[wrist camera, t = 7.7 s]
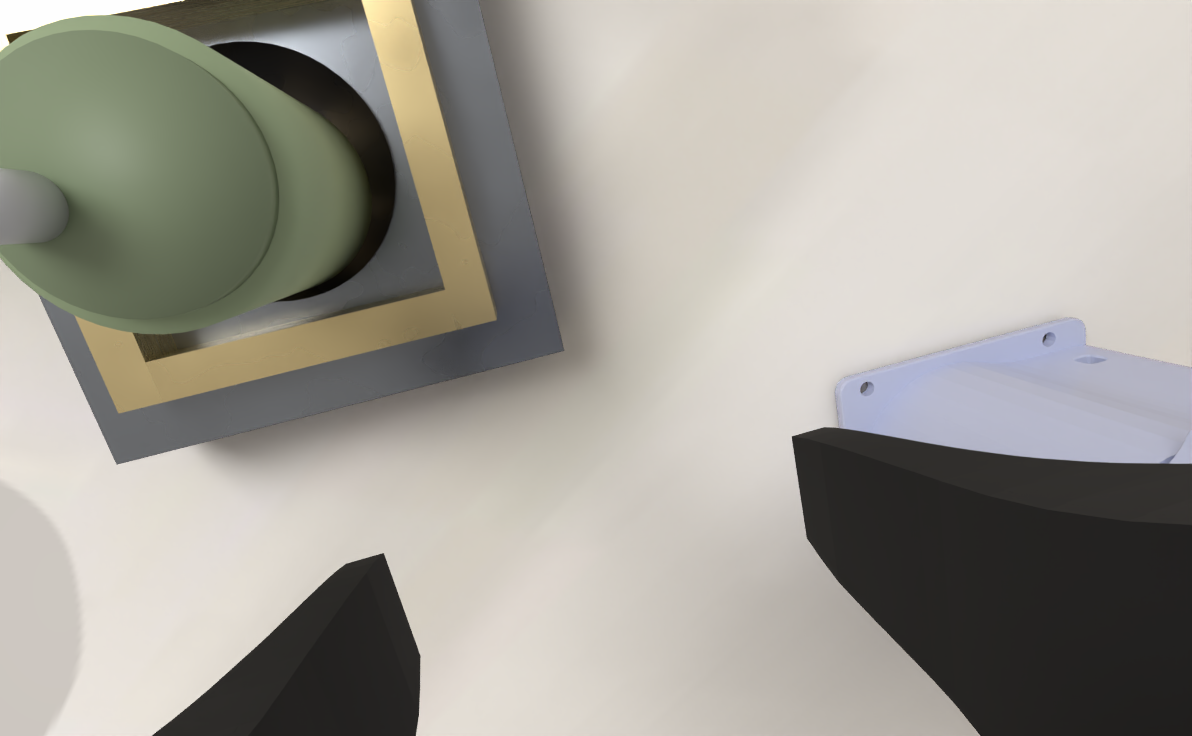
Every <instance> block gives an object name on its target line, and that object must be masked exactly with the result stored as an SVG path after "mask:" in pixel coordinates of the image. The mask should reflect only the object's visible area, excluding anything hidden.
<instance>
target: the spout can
mask: <svg viewBox="0 0 1192 736" xmlns="http://www.w3.org/2000/svg"><path fill="white" fill-rule="evenodd" d="M371 213H372V195H371V189H370V183H369V180H368V176H367V173H366V170H365V168H364V165H363V163H362V161H361V159H360V157H359V155H358V153H357V152H356V150H355V148H354V147H353V145H352V144H351V143H350V141H349V140H348V139H347V137H346V136H345V135H344V134H343V133H342V132H341V131H340V130H339V129H338V128H337V127H336V126H335V125H334V124H333V123H331V122H330V121H329V120H328V119H327V118H325V117H324V116H322V115H321V114H319V113H318V112H316V111H314V110H313V109H311V108H310V107H308V106H306V105H305V104H303V103H301V102H300V101H298V100H296V99H295V98H293V97H291V96H290V95H288V94H286V93H285V92H283V91H281V90H280V89H278V88H276V87H275V86H273V85H271V84H270V83H268V82H266V81H265V80H263V79H261V78H260V77H258V76H256V75H255V74H253V73H251V72H250V71H248V70H246V69H244V68H243V67H241V66H239V65H238V64H236V63H234V62H233V61H231V60H229V59H228V58H226V57H224V56H223V55H221V54H219V53H218V52H216V51H214V50H213V49H211V48H209V47H208V46H206V45H204V44H203V43H201V42H199V41H198V40H196V39H194V38H192V37H189V36H187V35H185V34H183V33H181V32H179V31H177V30H175V29H172V28H169V27H166V26H163V25H160V24H158V23H155V22H151V21H146V20H142V19H138V18H133V17H126V16H116V15H84V16H78V17H72V18H66V19H61V20H58V21H55V22H52V23H49V24H45V25H42V26H40V27H38V28H36V29H34V30H32V31H30V32H28V33H26V34H24V35H22V36H20V37H19V38H17V39H16V40H15V41H13V42H12V43H10V44H9V45H8V46H6V47H5V48H3V49H2V50H1V51H0V258H1V259H2V261H3V262H4V263H5V264H6V265H7V266H8V267H9V268H10V269H11V270H12V271H13V272H14V273H15V274H16V275H17V276H18V277H19V278H20V279H21V280H22V281H23V282H24V283H25V284H26V285H28V286H29V287H30V288H31V289H33V290H34V291H35V292H36V293H38V294H39V295H40V296H42V297H43V298H45V299H46V300H48V301H50V302H51V303H53V304H54V305H56V306H57V307H59V308H61V309H63V310H65V311H67V312H69V313H71V314H73V315H75V316H77V317H79V318H81V319H84V320H87V321H89V322H92V323H95V324H97V325H100V326H104V327H108V328H112V329H116V330H120V331H125V332H133V333H140V334H173V333H183V332H188V331H192V330H197V329H201V328H205V327H208V326H210V325H213V324H216V323H219V322H221V321H224V320H227V319H229V318H232V317H235V316H237V315H240V314H243V313H245V312H248V311H250V310H253V309H256V308H258V307H261V306H264V305H266V304H269V303H272V302H274V301H277V300H280V299H282V298H285V297H288V296H290V295H293V294H296V293H298V292H301V291H303V290H306V289H309V288H311V287H314V286H317V285H319V284H322V283H324V282H326V281H328V280H329V279H331V278H333V277H334V276H336V275H337V274H338V273H340V272H341V271H342V270H343V269H344V268H345V267H347V266H348V265H349V264H350V263H351V261H352V260H353V259H354V258H355V256H356V255H357V254H358V252H359V250H360V248H361V247H362V245H363V243H364V241H365V238H366V236H367V233H368V230H369V226H370V222H371Z"/></svg>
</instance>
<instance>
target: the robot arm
mask: <svg viewBox="0 0 1192 736" xmlns="http://www.w3.org/2000/svg"><path fill="white" fill-rule="evenodd" d="M1045 334H1046V340H1045V341H1044V342H1042V340H1043V337H1044V335H1045ZM865 382H867V383H868V387H867V389H866V391H865V392H863V393H861V392H860V388H861V386H862V384H863V383H865ZM835 396H836V403H837V411H838V419H839V426H840V428H827V427H824V428H820V429H817V430H813V431H810V432H806V433H803V434H799V435H796V436H792V441H793V448H794V455H795V462H796V468H797V475H798V482H799V488H800V495H801V502H802V509H803V515H804V522H805V529H806V535H807V539H808V540H809V542H810V543H811V545H812V546H813V548H814V549H815V550H816V552H817V553H818V555H819V556H820V557H821V559H822V560H823V562H824V563H825V564H826V566H827V567H828V568H829V570H830V571H831V572H832V574H833V575H834V576H835V578H836V579H837V580H838V582H839V583H840V584H841V585H842V586H843V587H844V588H845V589H846V590H847V591H848V593H849V594H850V595H851V596H852V597H853V598H854V599H855V600H856V601H857V602H858V603H859V604H860V605H861V606H862V607H863V608H864V609H865V610H866V611H867V612H868V613H869V615H870V616H871V617H872V618H873V619H874V620H875V621H876V622H877V623H878V624H879V625H880V626H881V627H882V628H883V629H884V630H885V631H886V632H887V633H888V634H889V635H890V636H891V637H892V638H893V639H894V640H895V641H896V642H897V643H898V644H899V645H900V646H901V647H902V648H903V649H904V650H905V652H906V653H907V654H908V655H909V656H910V657H911V658H912V659H913V660H914V661H915V662H916V663H917V664H918V665H919V666H920V667H921V668H922V669H923V670H924V671H925V672H926V673H927V674H928V675H929V676H930V677H931V678H932V679H933V680H934V681H935V682H936V684H937V685H938V686H939V687H940V688H941V689H942V690H943V691H944V692H945V694H946V695H947V696H948V697H949V698H950V699H951V700H952V701H953V702H954V704H955V705H956V706H957V707H958V708H959V709H960V711H961V712H962V713H963V714H964V716H965V717H966V718H967V719H968V721H969V722H970V723H971V724H972V726H973V727H974V728H975V729H976V731H977V732H978V733H979V734H980V736H1192V367H1187V366H1182V365H1178V364H1173V363H1168V362H1164V361H1159V360H1154V359H1149V358H1145V357H1140V356H1135V355H1130V354H1126V353H1121V352H1116V351H1112V350H1107V349H1102V348H1097V347H1093V346H1088V345H1086V333H1085V325H1084V323H1083V322H1082V321H1081V320H1079V319H1076V318H1063V319H1059V320H1055V321H1051V322H1048V323H1044V324H1040V325H1037V326H1033V327H1029V328H1025V329H1022V330H1018V331H1014V332H1011V333H1007V334H1003V335H999V336H996V337H992V338H988V339H985V340H981V341H977V342H973V343H970V344H966V345H962V346H959V347H955V348H951V349H947V350H944V351H940V352H936V353H933V354H929V355H925V356H921V357H918V358H914V359H910V360H907V361H903V362H899V363H896V364H892V365H888V366H884V367H881V368H877V369H873V370H870V371H866V372H862V373H858V374H855V375H851V376H847V377H845V378H843V379H841V380H840V381H839V382H838V384H837V386H836V389H835ZM419 697H420V654H419V651H418V648H417V645H416V643H415V640H414V637H413V634H412V631H411V629H410V626H409V623H408V620H407V617H406V615H405V612H404V609H403V606H402V603H401V601H400V598H399V595H398V592H397V589H396V586H395V584H394V581H393V578H392V575H391V572H390V570H389V567H388V564H387V561H386V558H385V556H384V553H382V554H379V555H375V556H372V557H368V558H365V559H361V560H358V561H354V562H351V563H347V564H345V565H344V566H343V567H341V568H340V569H339V570H337V571H336V572H335V573H334V574H333V575H332V576H330V577H329V578H328V579H327V580H326V581H325V582H324V583H323V584H322V585H321V586H320V587H318V588H317V589H316V590H315V591H314V592H313V593H312V594H311V595H310V596H309V597H308V598H307V599H306V600H305V601H304V602H303V603H302V604H301V605H300V606H299V607H298V608H297V609H296V610H295V611H294V612H293V613H291V614H290V615H289V616H288V617H287V618H286V619H285V620H284V621H283V622H282V623H281V624H280V625H279V626H278V627H277V628H276V629H275V630H274V631H273V632H272V633H271V634H270V635H269V636H268V637H267V638H265V639H264V640H263V641H262V642H261V643H260V644H259V645H258V646H257V647H256V648H255V649H253V650H252V651H251V652H250V653H249V654H248V655H247V656H246V657H245V658H243V659H242V660H241V661H240V662H239V663H238V664H237V665H236V666H235V667H233V668H232V669H231V670H230V671H229V672H228V673H227V674H226V675H225V676H223V677H222V678H221V679H220V680H219V681H218V682H217V683H216V684H215V685H213V686H212V687H211V688H210V689H209V690H208V691H207V692H206V693H204V694H203V695H202V696H201V697H200V698H198V699H197V700H196V701H195V702H194V703H192V704H191V705H190V706H189V707H188V708H186V709H185V710H184V711H183V712H181V713H180V714H179V715H178V716H177V717H175V718H174V719H173V720H172V721H170V722H169V723H168V724H166V725H165V726H164V727H163V728H161V729H160V730H159V731H157V732H156V733H155V734H154V735H152V736H416V730H417V723H418V717H419Z"/></svg>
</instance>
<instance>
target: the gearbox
mask: <svg viewBox="0 0 1192 736" xmlns="http://www.w3.org/2000/svg"><path fill="white" fill-rule="evenodd" d="M84 15H116V16H126V17H133V18H138V19H142V20H146V21H151V22H155V23H158V24H160V25H163V26H166V27H169V28H172V29H175V30H177V31H179V32H181V33H183V34H185V35H187V36H189V37H192V38H194V39H196V40H198V41H199V42H201V43H203V44H204V45H206V46H208V47H209V48H211V49H213V50H214V51H216V52H218V53H219V54H221V55H223V56H224V57H226V58H228V59H229V60H231V61H233V62H234V63H236V64H238V65H239V66H241V67H243V68H244V69H246V70H248V71H250V72H251V73H253V74H255V75H256V76H258V77H260V78H261V79H263V80H265V81H266V82H268V83H270V84H271V85H273V86H275V87H276V88H278V89H280V90H281V91H283V92H285V93H286V94H288V95H290V96H291V97H293V98H295V99H296V100H298V101H300V102H301V103H303V104H305V105H306V106H308V107H310V108H311V109H313V110H314V111H316V112H318V113H319V114H321V115H322V116H324V117H325V118H327V119H328V120H329V121H330V122H331V123H333V124H334V125H335V126H336V127H337V128H338V129H339V130H340V131H341V132H342V133H343V134H344V135H345V136H346V137H347V139H348V140H349V141H350V143H351V144H352V145H353V147H354V148H355V150H356V152H357V153H358V155H359V157H360V159H361V161H362V163H363V165H364V168H365V170H366V173H367V176H368V180H369V183H370V189H371V195H372V213H371V222H370V226H369V230H368V233H367V236H366V238H365V241H364V243H363V245H362V247H361V248H360V250H359V252H358V254H357V255H356V256H355V258H354V259H353V260H352V261H351V263H350V264H349V265H348V266H347V267H345V268H344V269H343V270H342V271H341V272H340V273H338V274H337V275H336V276H334V277H333V278H331V279H329V280H328V281H326V282H324V283H322V284H319V285H317V286H314V287H311V288H309V289H306V290H303V291H301V292H298V293H296V294H293V295H290V296H288V297H285V298H282V299H280V300H277V301H274V302H272V303H269V304H266V305H264V306H261V307H258V308H256V309H253V310H250V311H248V312H245V313H243V314H240V315H237V316H235V317H232V318H229V319H227V320H224V321H221V322H219V323H216V324H213V325H210V326H208V327H205V328H201V329H197V330H192V331H188V332H183V333H173V334H140V333H133V332H125V331H120V330H116V329H112V328H108V327H104V326H100V325H97V324H95V323H92V322H89V321H87V320H84V319H81V318H79V317H77V316H75V315H73V314H71V313H69V312H67V311H65V310H63V309H61V308H59V307H57V306H56V305H54V304H53V303H51V302H50V301H48V300H46V299H45V298H43V297H42V296H40V295H39V297H40V299H41V301H42V303H43V305H44V307H45V310H46V312H47V314H48V316H49V318H50V320H51V323H52V325H53V327H54V329H55V331H56V334H57V336H58V338H59V340H60V342H61V344H62V347H63V349H64V351H65V353H66V355H67V357H68V360H69V362H70V364H71V366H72V368H73V371H74V373H75V375H76V377H77V379H78V381H79V384H80V386H81V388H82V390H83V392H84V394H85V397H86V399H87V401H88V403H89V405H90V407H91V410H92V412H93V414H94V416H95V418H96V421H97V423H98V425H99V427H100V429H101V431H102V434H103V436H104V438H105V440H106V442H107V444H108V447H109V449H110V451H111V453H112V455H113V458H114V460H115V462H116V464H121V463H125V462H129V461H133V460H137V459H141V458H144V457H148V456H152V455H156V454H160V453H164V452H168V451H172V450H176V449H180V448H184V447H188V446H192V445H196V444H199V443H203V442H207V441H211V440H215V439H219V438H223V437H227V436H231V435H235V434H239V433H243V432H247V431H251V430H255V429H258V428H262V427H266V426H270V425H274V424H278V423H282V422H286V421H290V420H294V419H298V418H302V417H306V416H310V415H313V414H317V413H321V412H325V411H329V410H333V409H337V408H341V407H345V406H349V405H353V404H357V403H361V402H365V401H369V400H372V399H376V398H380V397H384V396H388V395H392V394H396V393H400V392H404V391H408V390H412V389H416V388H420V387H424V386H427V385H431V384H435V383H439V382H443V381H447V380H451V379H455V378H459V377H463V376H467V375H471V374H475V373H479V372H483V371H486V370H490V369H494V368H498V367H502V366H506V365H510V364H514V363H518V362H522V361H526V360H530V359H534V358H538V357H542V356H545V355H549V354H553V353H557V352H561V351H564V348H563V344H562V339H561V335H560V331H559V327H558V323H557V319H556V315H555V311H554V307H553V303H552V299H551V295H550V290H549V286H548V282H547V278H546V274H545V270H544V266H543V262H542V258H541V254H540V250H539V246H538V241H537V237H536V233H535V229H534V225H533V221H532V217H531V213H530V209H529V205H528V201H527V197H526V192H525V188H524V184H523V180H522V176H521V172H520V168H519V164H518V160H517V156H516V152H515V148H514V143H513V139H512V135H511V131H510V127H509V123H508V119H507V115H506V111H505V107H504V103H503V99H502V95H501V90H500V86H499V82H498V78H497V74H496V70H495V66H494V62H493V58H492V54H491V50H490V46H489V41H488V37H487V33H486V29H485V25H484V21H483V17H482V13H481V9H480V5H479V1H478V0H0V51H1V50H2V49H3V48H5V47H6V46H8V45H9V44H10V43H12V42H13V41H15V40H16V39H17V38H19V37H20V36H22V35H24V34H26V33H28V32H30V31H32V30H34V29H36V28H38V27H40V26H42V25H45V24H49V23H52V22H55V21H58V20H61V19H66V18H72V17H78V16H84Z"/></svg>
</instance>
